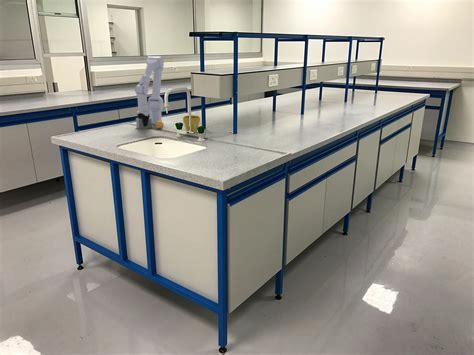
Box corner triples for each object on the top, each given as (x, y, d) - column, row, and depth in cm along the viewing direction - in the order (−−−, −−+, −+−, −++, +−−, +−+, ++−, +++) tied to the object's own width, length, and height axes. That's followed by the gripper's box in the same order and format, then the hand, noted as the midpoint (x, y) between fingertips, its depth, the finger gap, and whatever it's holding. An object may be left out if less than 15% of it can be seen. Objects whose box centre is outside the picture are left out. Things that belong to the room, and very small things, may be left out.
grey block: (136, 127, 245) (135, 118, 243) (149, 126, 249) (148, 117, 247) (139, 129, 240) (138, 119, 238) (151, 127, 244) (151, 118, 242)
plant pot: (189, 134, 226) (188, 118, 223) (180, 131, 233) (179, 116, 230) (203, 132, 232) (203, 117, 229) (194, 129, 240) (194, 114, 236)
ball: (154, 128, 243) (154, 120, 242) (162, 127, 246) (161, 119, 244) (157, 129, 239) (156, 121, 237) (164, 128, 241) (164, 121, 240)
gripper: (133, 103, 243) (134, 123, 248) (139, 106, 231) (141, 127, 236) (143, 102, 247) (145, 122, 251) (150, 105, 235) (152, 126, 239)
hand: (144, 125), depth 244 cm, fingers closed on grey block, 6 cm apart
